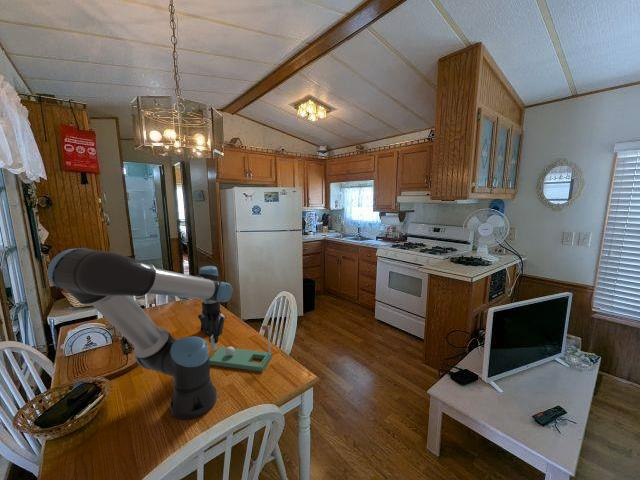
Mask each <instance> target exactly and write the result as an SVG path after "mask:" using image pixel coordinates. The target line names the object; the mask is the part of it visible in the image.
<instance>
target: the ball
mask: <svg viewBox="0 0 640 480" xmlns="http://www.w3.org/2000/svg"><path fill="white" fill-rule="evenodd" d="M234 348H235V347H233V346H228V347H227V349H226V351H225V353H226V355H228V356H231V355H233V354H234V352H235V350H234Z"/></svg>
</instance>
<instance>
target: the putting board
mask: <svg viewBox="0 0 640 480" xmlns="http://www.w3.org/2000/svg"><path fill="white" fill-rule="evenodd" d="M261 329H262V331H267V341H268V342H267V344H268V345H267V346H268V347H267V348H268V352H267V351H258V350H251V349H243V348H242V349H241V348H235V347H233V348H234V350H235V352H234V354H233V355H231V356H228V355H226V353H225V351H226V349H227V348H228V347H226V346H220V347H219V348H217V349H216V350H215V352H214V353H213V354H212V355H211V356H209V365H210V366H218V367H226V368H232V369H241V370H246V371H247V370H249V371H253V372H261V373H263V372H264V370H265V369H266V367H267V366H268V364H269V363H270V361H271V359H272V358H271V357H273V352H271V338H270V337H271V336H270V335H271V333H270V332H271V331H270V325H262V328H261ZM253 359H259V360H261V362H260V363H259V362H253Z"/></svg>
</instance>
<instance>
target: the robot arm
mask: <svg viewBox="0 0 640 480" xmlns="http://www.w3.org/2000/svg"><path fill="white" fill-rule="evenodd" d="M46 275H47V278H48V280H49V282H50V283H51V284H52V285H53V286H55V287H56V288H58V289H60V290H65V291H67V292H68V293H69V294H70V295H71V296H72V297H74V299H75V300H76V301H78V302H79V303H80V304H81V305H85V306H86V305H87V306H88V305H91V306H93V307H94V308H95V310H97V311H98V312H99V314H100V315H102V316H103V318H105V319H106V320H107V321H108V322H109V324H110V325H112V326H113V327H114V328H115V329H116V330H117V331H118V332H119V333H120V334H121V335H122V336H123V337H124V338H125V339H126V340H127V341H128V342H129V343H130V344H132V346H133V353H134V357H135V361H136V363H137V364H138V365H140V367H142V368H144V369H147V370H149V371H150V370H151V371H154V372H157V373H161V374H164V375H165V376H166V375H167V376H170V377H172V378H173V387H174V388H173V393H172V395H171V400H170V403H169V404H170V405H169V407H170V414H171V416H172V417H173V418H175V419H177V420H181V421H185V420H188V421H189V420H193V419H195V418H198V417H200V416H203V415H205V414H206V413H208V412H209V411H210V410H211V409H212V408H213V407H214V406H215V404H216V402H217V400H218V399H217V397H218V396H217V389H216V387H215V386H214V384H213V382H212V380H211V370H210V366H211V365H209V358H210V350H211V351H213V352H214V351H215V352H216V351H217V350H218V349H219V348H218V343H219V337H220V336H221V335H222V334H223V329H224V324H225V320H226V318H227V314H223V313H222V311H221V303H226V302H228V301H229V300H230V299H231V298H232V295H233V291H234V290H233V286H232V285H231V283H229V282H225V281H220V280H219V271H218V268H217V266H214V265H206V266H201V267H200V268H199V272H198V274H197V275H195V276H194V275H189V274H185V273H180V272H176V271H171V270H166V269H165V270H164V269H163V268H162V269H161V268H157V267H155V266H154V265H153V264H152V263H150V262H145V261H141V260H139V259H135V258H132V257H129V256H126V255H123V254H121V253H118V252H113V251H107V250H106V251H105V250H97V249H96V250H95V249H89V248H87V247H78V248H71V249H65V250H63V251H61V252H60V253H58V254H56V256H54V257H53V258H52V260H51V261H50V263H49V264H48V268H47V273H46ZM147 294H149V295H159V296H168V297H177V298H178V299H179V300H181V301H186V300H190V299H195V300H201V309H202V310H203V312H201V313H200V314H198V315H197V319H199V321H200V325H201V324H202V328H203V331H202V332H203V333H204V336H208V342H209V343H210V349H209V345H208V342H207V341H206V340H205V339H204V338H202V337H199V336H193V335H191V336H185V337H181V338H178V339H177V338H175V337H174V336H173V335H171V333H170V332H169V330H167V329H166V328H165V327H159V326H158V325H156V323H155V322H154V321H153V320H152V319H151V317H150V316H149V315H148V314H147V313H146V311H144V309H143V308H142V307H141V306H140V305H139V304H138V302H137V301H136V300H135V299H134V298H133V297H144V296H145V295H147ZM202 310H201V311H202ZM219 317H220V318H219ZM218 318H219V324H218Z"/></svg>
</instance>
